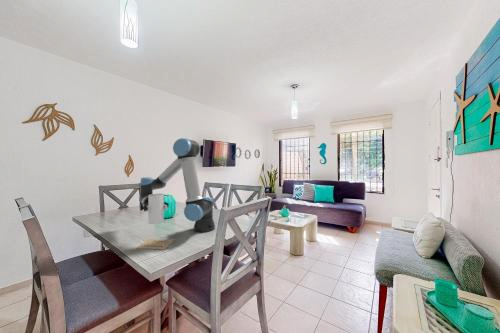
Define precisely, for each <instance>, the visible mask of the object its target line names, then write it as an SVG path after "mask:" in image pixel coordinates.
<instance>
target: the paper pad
mask: <svg viewBox="0 0 500 333" xmlns="http://www.w3.org/2000/svg"><path fill="white" fill-rule="evenodd" d="M174 241H175V239H164V238H163V239H162V238H161V239H159V238H157V239H155V238H148V239H147V240H146V241H145V240H144V242H142V243H141V244H140V245H139V246H137V247H135V250H137V249H138V250H166V249H167V248H168V247H169V246H170V245H171V244H172V243H173V242H174Z"/></svg>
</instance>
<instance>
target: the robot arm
mask: <svg viewBox="0 0 500 333" xmlns="http://www.w3.org/2000/svg"><path fill="white" fill-rule="evenodd" d="M200 146H201V145H199V143H198V142H197V141H195V140H193V139H189V138H184V137H183V138H182V137H181V138H179V139H176V140H175V142H174V143H173V145H172V150H173V151H172V152H173V154H175V155H176V156H177V158H176V159H175V160H174V161H173V162H171V164H170V165H168V166H167V167H166V168H165V169H164V171H162V173H160V174H159V176H157V177H156V178H153V177H148V176H146V177H144V176H143V177H141V179H140V183H139V184H140V187H139V188H140V194H139V199H138V200H139V210H140V211H143V212H147V213H148V212H149V213H150V207H149V206H148V196H149V195H150V194H154V193H153V191H155V190H160V189H164V188H166V186H167V183H168V182H169V181H170V180H172V178H173V177H175V176H176V175H177V173H179V172H180V170H182V174H183V175H182V176H183V181H184V187H185V193H186V200H185V202H184V203H185V207H184V209H183V215H184V217H185V218H186V220H189V221H190V222H194V224H193V231H195V232H198V233H207V232H212V231H214V230H215V229H216V225H215V224H216V223H215V221H214V218H213V215H214V212H213V211H214V201H213V200H214V199H213V197H210V196H209V197H207V196H202V195H201V190H200V186H199V185H200V184H199V179H198V173H197V167H196V161H195V160H196V159H197V156H198V155H199V153H200V151H201V147H200ZM169 205H170V204H169V202H167V201H166V202H165V201H164V211H168V208H169Z"/></svg>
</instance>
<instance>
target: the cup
mask: <svg viewBox="0 0 500 333" xmlns="http://www.w3.org/2000/svg"><path fill="white" fill-rule="evenodd" d="M164 202H165V194H164V193H153V194H150V195H149V196H148V206H149V207H150V213H149V212H148V211H147V213H148V214H147V215H148V216H147V219H148V220H147V221H148V222H147V223H148V224H150V225H157V224H162V223H164V222H165V209H164Z"/></svg>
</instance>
